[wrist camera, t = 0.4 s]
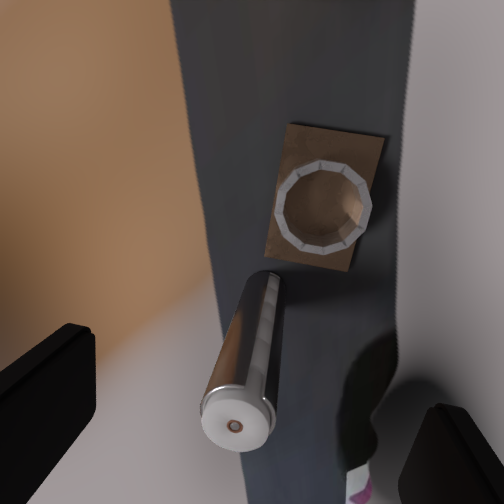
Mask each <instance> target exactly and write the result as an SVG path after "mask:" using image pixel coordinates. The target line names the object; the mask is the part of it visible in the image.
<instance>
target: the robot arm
mask: <svg viewBox="0 0 504 504" xmlns="http://www.w3.org/2000/svg"><path fill="white" fill-rule="evenodd" d="M95 356H96V355H95V335H94V334H92V333H91V330H90V328H89V327H85V326H80V325H76V324H72V323H67V324H65V325H64V326H62V327H61V328H60V329H58V330H57V331H55V332H54V333H53V334H52V335H50V336H49V337H47V338H46V339H44V340H43V341H42V342H40V343H39V344H38V345H36V346H35V347H33V348H32V349H31V350H29V351H28V352H27V353H25V354H24V355H23V356H21V357H20V358H18V359H17V360H16V361H14V362H13V363H12V364H10V365H9V366H8V367H6V368H5V369H4V370H2V371H1V372H0V504H26V503H27V502H28V501H29V499H30V498H31V497H32V495H33V494H34V493H35V492H36V490H37V489H38V488H39V486H40V485H41V484H42V483H43V481H44V480H45V479H46V477H47V476H48V475H49V474H50V472H51V471H52V470H53V468H54V467H55V466H56V464H57V463H58V462H59V461H60V459H61V458H62V457H63V455H64V454H65V453H66V452H67V450H68V449H69V448H70V446H71V445H72V444H73V443H74V441H75V440H76V439H77V437H78V436H79V435H80V433H81V432H82V431H83V430H84V428H85V427H86V425H87V424H88V423H89V422H90V420H91V419H92V417H93V415H94V413H95V410H96V362H95V361H96V358H95ZM398 491H399V496H400V499H401V502H402V504H504V466H503V464H502V463H501V461H500V460H499V459H498V457H497V455H496V454H495V452H494V451H493V450H492V448H491V446H490V445H489V443H488V442H487V440H486V439H485V437H484V436H483V435H482V433H481V431H480V430H479V429H478V427H477V425H476V424H475V422H474V421H473V419H472V418H471V417H470V415H469V414H468V412H467V411H466V410H465V409H463V408H461V407H457V406H452V405H448V404H442V403H438V404H436V405H435V407H430V408H429V409H428V410H427V413H426V415H425V417H424V420H423V422H422V425H421V427H420V429H419V432H418V434H417V437H416V439H415V441H414V444H413V446H412V448H411V451H410V453H409V456H408V458H407V460H406V463H405V465H404V468H403V470H402V472H401V475H400V477H399V480H398Z"/></svg>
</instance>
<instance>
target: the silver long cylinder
mask: <svg viewBox="0 0 504 504" xmlns="http://www.w3.org/2000/svg"><path fill="white" fill-rule="evenodd" d="M285 302H286V286H285V283H284V281H283V280H282V279H281V278H280V277H279V276H278V275H277V274H275V273H272V272H269V271H259V272H257V273H254V274H253V275H251V276H250V277H249V278H248V280H247V282H246V284H245V287H244V289H243V292H242V295H241V297H240V300H239V303H238V305H237V308H236V311H235V313H234V316H233V319H232V321H231V324H230V327H229V329H228V332H227V335H226V337H225V340H224V343H223V345H222V348H221V351H220V354H219V356H218V359H217V361H216V364H215V367H214V369H213V372H212V375H211V377H210V380H209V383H208V385H207V388H206V391H205V393H204V396H203V399H202V402H201V404H200V414H201V418H202V427H203V430H204V431H205V433H206V435H207V436H208V438H209V439H211V441H212V442H214V443H215V444H217V445H218V446H220V447H222V448H225V449H228V450H231V451H235V452H247V451H250V450H254V449H256V448H259V447H260V446H262V445H263V444H264V443H265V442H266V440H267V437H268V436H269V435H270V434H271V433H272V431H273V429H274V427H275V423H276V415H277V403H278V390H279V378H280V365H281V352H282V340H283V327H284V314H285Z"/></svg>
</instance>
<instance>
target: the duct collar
mask: <svg viewBox="0 0 504 504" xmlns="http://www.w3.org/2000/svg"><path fill="white" fill-rule="evenodd" d="M384 139H385V138H381V137H374V136H367V135H361V134H354V133H348V132H341V131H335V130H328V129H321V128H315V127H308V126H302V125H295V124H288V123H287V128H286V134H285V139H284V145H283V151H282V157H281V163H280V168H279V174H278V180H277V186H276V191H275V197H274V203H273V209H272V215H271V220H270V226H269V232H268V238H267V244H266V249H265V255H264V256H265V257H270V258H275V259H281V260H286V261H291V262H297V263H302V264H307V265H313V266H318V267H323V268H328V269H334V270H339V271H344V272H348V269H349V265H350V262H351V258H352V254H353V251H354V247H355V244H356V240H357V238H358V237H359V236H360V235H361V234H362V233H363V232H364V231H365V230H366V227H367V224H368V220H369V217H370V213H371V210H372V206H373V205H372V202H371V198H370V195H369V193H370V190H371V186H372V183H373V179H374V175H375V172H376V168H377V165H378V161H379V157H380V154H381V150H382V147H383V143H384Z"/></svg>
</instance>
